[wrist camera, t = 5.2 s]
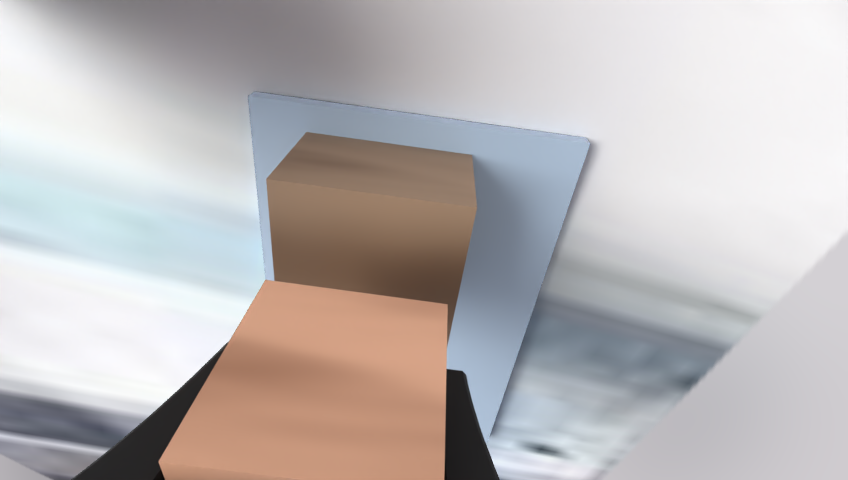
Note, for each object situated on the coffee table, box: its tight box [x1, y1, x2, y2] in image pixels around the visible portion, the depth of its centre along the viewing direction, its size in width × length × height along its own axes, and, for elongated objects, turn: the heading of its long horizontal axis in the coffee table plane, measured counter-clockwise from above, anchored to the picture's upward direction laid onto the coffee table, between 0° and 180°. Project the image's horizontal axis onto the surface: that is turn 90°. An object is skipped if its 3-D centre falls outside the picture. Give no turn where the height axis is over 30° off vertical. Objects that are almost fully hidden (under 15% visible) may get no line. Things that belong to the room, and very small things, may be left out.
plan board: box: [248, 92, 590, 442], centre depth 20 cm, size 18×12×1 cm, turn 173°
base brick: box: [266, 132, 477, 345], centre depth 16 cm, size 6×6×4 cm
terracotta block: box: [159, 280, 448, 480], centre depth 10 cm, size 4×4×4 cm
